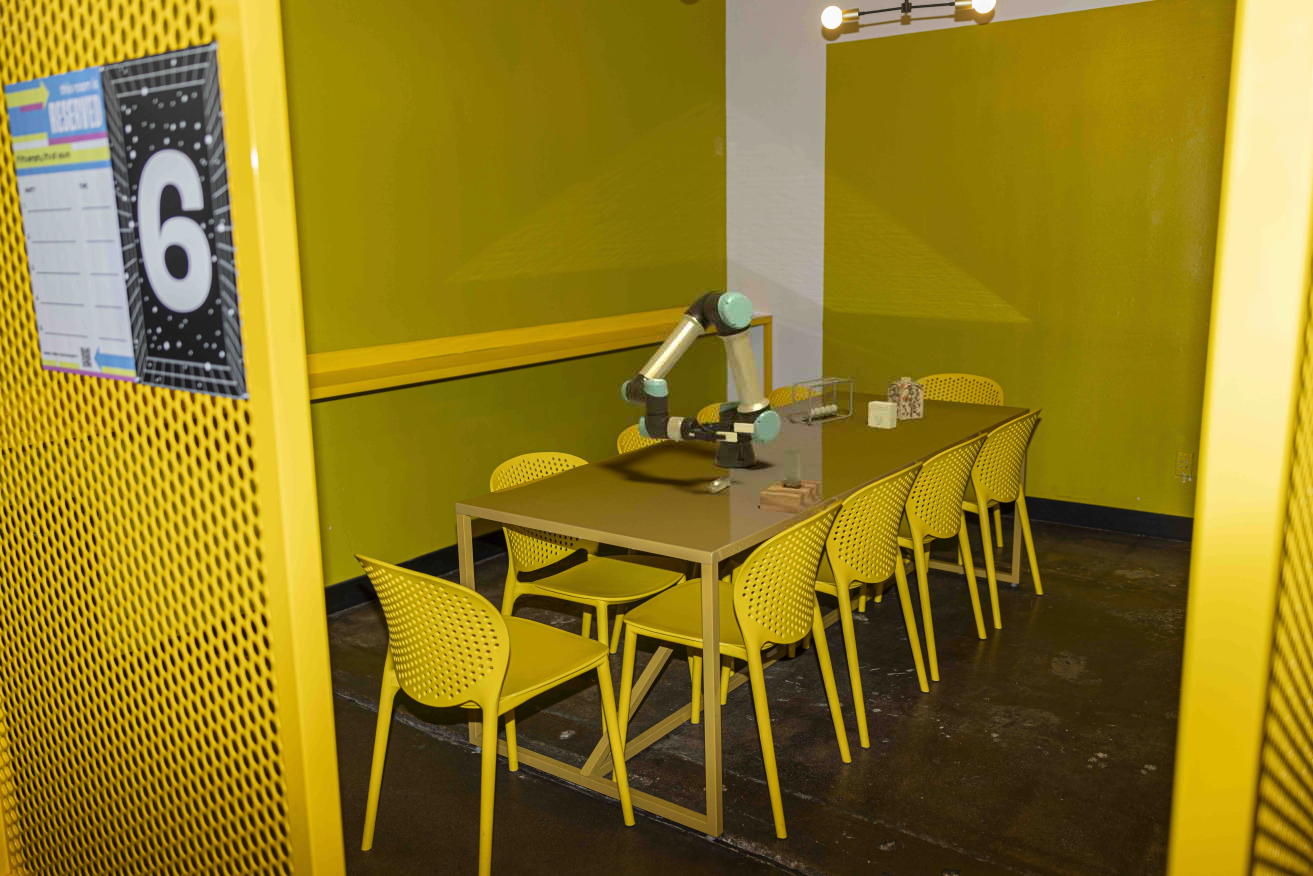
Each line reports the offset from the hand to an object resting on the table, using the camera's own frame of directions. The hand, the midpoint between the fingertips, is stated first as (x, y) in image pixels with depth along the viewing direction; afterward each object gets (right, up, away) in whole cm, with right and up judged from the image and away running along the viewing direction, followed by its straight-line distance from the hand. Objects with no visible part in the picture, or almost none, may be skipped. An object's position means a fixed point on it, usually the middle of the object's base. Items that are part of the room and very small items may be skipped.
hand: (745, 432), depth 307 cm
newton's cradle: (+46, +6, +130) cm, 138 cm away
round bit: (-7, -15, +13) cm, 21 cm away
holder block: (+14, -22, -4) cm, 26 cm away
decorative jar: (+84, +7, +132) cm, 157 cm away
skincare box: (+69, +3, +112) cm, 132 cm away
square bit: (+15, -21, -3) cm, 26 cm away
